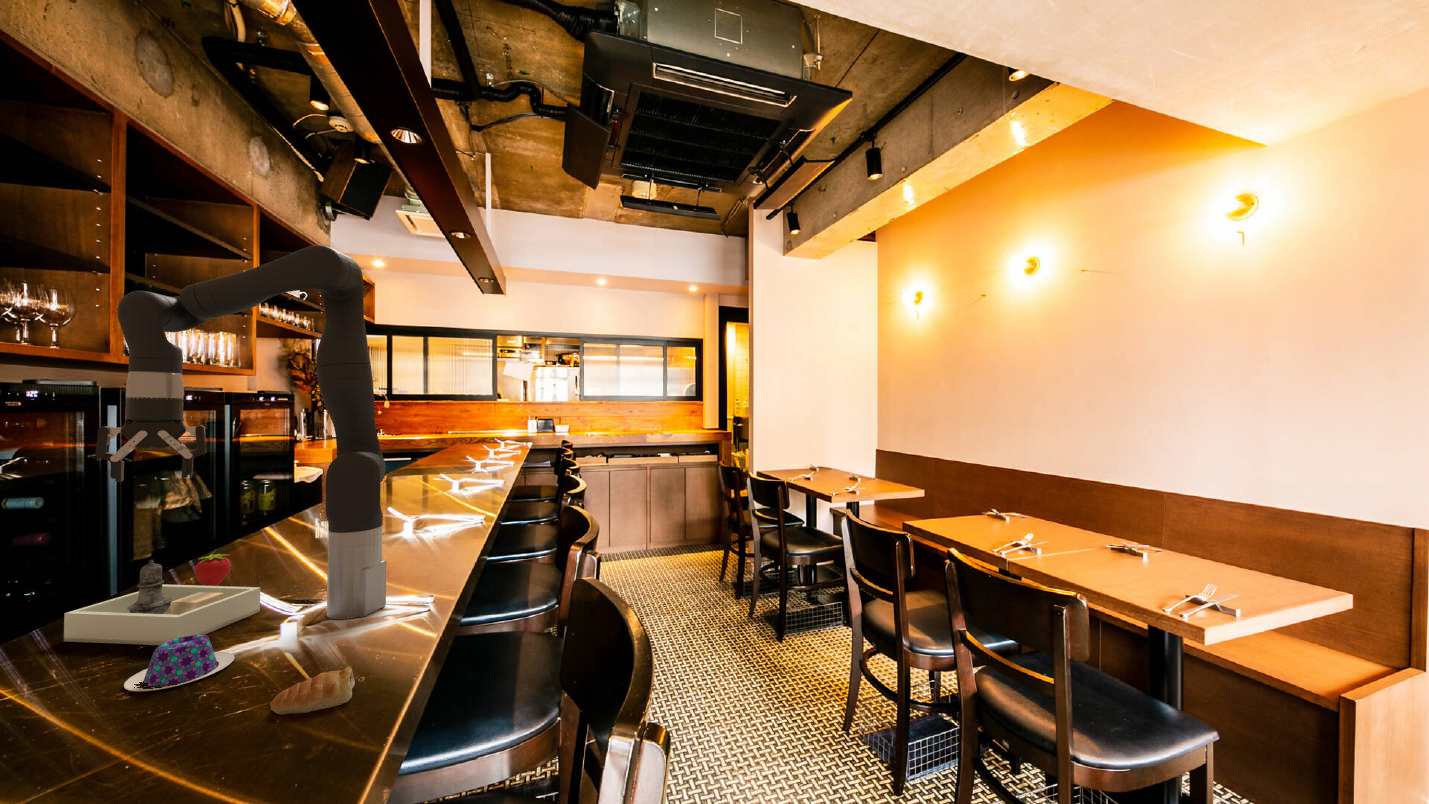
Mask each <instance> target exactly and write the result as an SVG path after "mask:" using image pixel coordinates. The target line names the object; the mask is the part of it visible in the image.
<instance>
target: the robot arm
mask: <svg viewBox="0 0 1429 804" xmlns="http://www.w3.org/2000/svg"><path fill="white" fill-rule="evenodd" d="M305 290H306V291H307V290H314V291H316V292H319V293H320V295H321V300H322V304H323V309H324V310H323V311H324V328H323V332H322V334H321V337H320V339H319V344H318V347H317V350H316V357H315V364H316V366H315V367H316V374H317V381H318V386H319V391H320V395H321V398H322V401H323V403H324V405H325V408H326V411H327V413H328V414H329V415H328V416H329V417H330V419H331V423H332V425H333V428H334V429H333V430H334V434H335V444H336V458H334V459H333V460H332V461H331V462H330V463H329V465H328V467H327V470H326V474H325V487H324V489H325V516H326V519H327V520H326V521H327V523H328V529H327V530H328V531H327V532H328V533H327V537H328V538H327V573H326V574H327V581H326V582H327V584H326V617H327V618H329V619H332V620H345V619H346V620H347V619H353V618H360V617H362V618H363V617H367V616H368V615H370V614H372V613H374V612H376V611H378V610H379V609H382V608H383V606H384V607H385V606H387V568H388V567H387V566H388V565H387V564H388V563H387V561H386V560H383V527H384V523H383V522H384V521H383V520H384V518H383V517H384V515H383V514H384V513H383V511H382V507H381V506H382V505H381V486H382V485H381V483H382V482H383V480H384V479H385V476H386V471H387V469H386V468H387V466H386V463H385V460H384V459H385V458H384V456H383V451H382V448H381V444H380V439H379V436H378V432H377V426H376V409H375V408H376V407H375V406H376V405H375V403H376V402H375V392H374V391H375V390H374V379H373V372H372V371H373V370H372V364H371V358H370V354H369V353H370V352H369V345H368V338H367V331H366V323H365V316H364V315H365V313H364V311H365V309H364V308H365V307H364V302H365V301H364V276H363V272H362V269H361V266H359V264H358V262H357V261H355V259H354V258H353V257H350V256H349V255H347V254H345V253H343V252H342V251H339V250H336V249H335V248H332V247H330V246H326V245H322V244H320V245H319V244H317V245H316V244H315V245H310V246H306V247H304V248H301V249H298V250H295V251H293V252H292V253H288V254H287V255H285V256H281V257H280V258H277V259H274V260H272V261H269V262H266V263H264V264H261V265H259V266H256V267H253V268H250V269H247V270H244V271H240V272H236V273H231V274H229V275H225V276H221V277H220V276H219V277H217V278H213V279H208V280H205V281H200V282H195V283H192V284H189V285H186V286H185V287H183V288H182V289H181V290H180V292H179V296H167V295H163V294H159V293H155V292H152V291H146V290H134V291H131V292H129V293H127V294H125V295H124V296H123V297H122V298H121V300H120V301H119V303H118V305H117V319H118V322H119V325H120V328H121V331H122V335H123V338H124V341H125V344H126V345H127V348H128V351H129V355H128V357H129V358H128V375H127V378H126V382H125V383H126V384H125V416H124V417H125V418H124V425H122V427H115V426H112V427H111V426H107V425H105V426H100V427H99V428H98V430H97V436H96V443H95V446H96V447H95V453H94V457H95V458H96V459H99V460H104V461H108V462H110V467H109V468H110V470H109V473H110V474H109V476H110V478H111V479H112V480H115V482H116V483H118V482H123V481H124V480H125V476H124V475H125V474H124V473H125V471H124V470H125V461H124V460H123V459H124V458H126V456H128V454H130V453H131V452H132V451H134V450H135V449H136V448H139V449H142V450H143V449H151V448H157V449H166V448H169V447H172V449H173V450H175V451H176V452H177V453H179V454H180V455H181V456H182V457H183V458H182V460H181V463H182V464H181V479H187V478H189V476H190V475H192V474H193V472H194V459H195V458H197V457H199V456H203V455H205V454H207V452H208V451H207V438H206V435H207V434H206V427H205V426H204V425H202V424H201V425H197V426H186V425H185V423H184V396H185V389H184V388H185V387H184V386H185V385H184V380H183V379H184V378H183V351H182V349H181V348H180V346H179V345H176V344H173V343H172V342H170V341H169V340H168V338H167V335H166V333H179V332H184V331H189V330H192V329H194V328H197V327H199V326H201V325H203V324H206V323H207V322H209V321H210V320H212V319H215V318H216V319H217V318H220V317H225V316H229V315H232V314H236V313H242V312H244V311H247V310H250V309H252V308H254V307H256V306H259V305H260V304H263V303H264V302H265V301H266V300H269V299H270V298H272V297H275V296H278V295H280V294H281V295H282V294H284V293H289V292H296V291H305ZM186 433H189V435H190V436H191V437H193V438H194V437H195V443H196V444H195V445H196V450H193V451H192V450H190V449H189V448H188V447H187V446H186V445H185V444H184V443H183V442H182V441H181V440H180V438H181V437H183V435H184V434H186ZM118 434H122V436H123V437H125V438H126V439H127V440H128V441H127V442H126V443H124V445H123V446H121V447H120V448H119V449H118V450H117V451H116V452H115V453H114V452H113V453H112V452H110V445H111V439H114V438H116V437H117V436H118Z"/></svg>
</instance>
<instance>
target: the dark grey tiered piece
mask: <svg viewBox="0 0 1429 804" xmlns="http://www.w3.org/2000/svg"><path fill="white" fill-rule="evenodd" d="M164 583H165V580H164V579H163V566H162V565H161V564H159V563H155V561H154V559H150V560H149V563H147V564H146V565H144V566H142V567H141V568H140V570H139V583H138V584H137V585H136V587H137V588H138V591H139V597H138V600H137V602H136V603H134V604H131V605H130V606H128V607H127V609H128V610H130V613H142V614H163V613H164V612H165V611H166V610H168V608H169V606H170V602H171V601H172V600H173V599H172V598H169V597H164V595H163V592H162V584H164Z"/></svg>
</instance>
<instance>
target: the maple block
mask: <svg viewBox="0 0 1429 804" xmlns="http://www.w3.org/2000/svg"><path fill="white" fill-rule="evenodd" d="M222 599H224V593H211V592H199V593H196V594H193V595H190V596H187V597H184V598H181V599H178V600H175V601H172V602H171V615H180V614H183V613H185V612H188V611H191V610H194V609H197V608H199V607H202V606H205V605H208V604H211V603H213V602H216V601H219V600H222Z"/></svg>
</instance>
